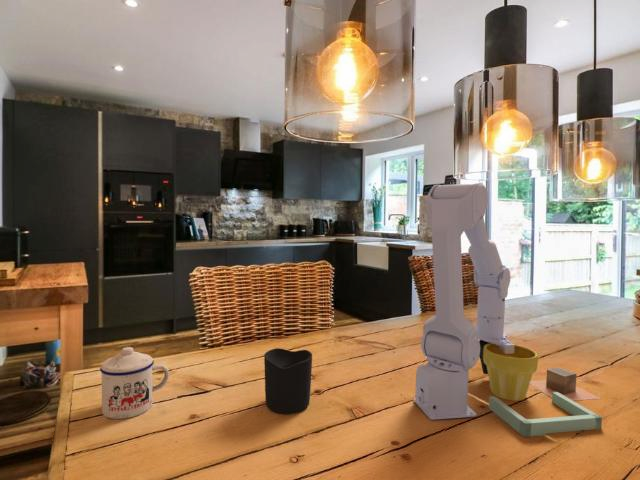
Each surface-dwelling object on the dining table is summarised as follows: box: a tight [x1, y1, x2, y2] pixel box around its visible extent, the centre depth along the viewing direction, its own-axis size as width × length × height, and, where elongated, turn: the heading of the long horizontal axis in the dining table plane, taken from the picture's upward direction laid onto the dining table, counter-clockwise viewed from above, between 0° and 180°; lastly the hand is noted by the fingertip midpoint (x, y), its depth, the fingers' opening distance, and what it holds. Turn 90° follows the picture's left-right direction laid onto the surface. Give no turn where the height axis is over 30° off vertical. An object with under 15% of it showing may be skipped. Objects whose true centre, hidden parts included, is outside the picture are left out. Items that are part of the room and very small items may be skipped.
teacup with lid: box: [99, 346, 170, 420], centre depth 74 cm, size 12×9×12 cm
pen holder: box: [263, 347, 313, 415], centre depth 76 cm, size 9×9×10 cm
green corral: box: [488, 392, 603, 438], centre depth 73 cm, size 15×10×2 cm, turn 100°
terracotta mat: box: [529, 379, 601, 402], centre depth 85 cm, size 10×10×1 cm
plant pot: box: [483, 343, 539, 402], centre depth 83 cm, size 10×10×10 cm
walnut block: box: [545, 366, 577, 395], centre depth 85 cm, size 4×4×4 cm
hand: (488, 373), depth 90 cm, fingers closed
